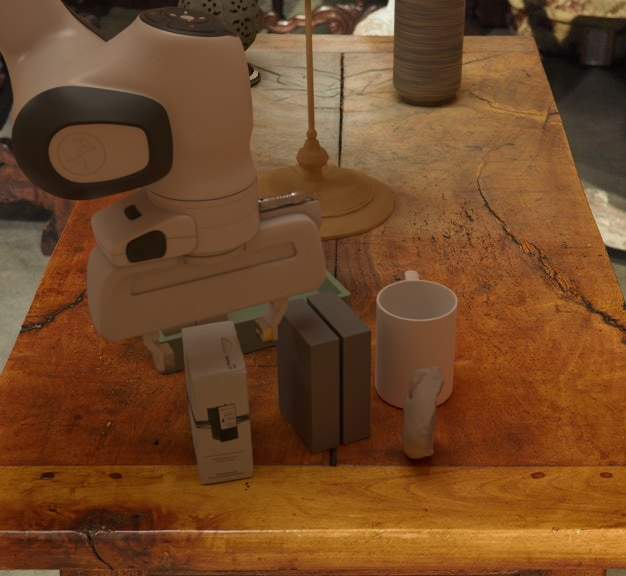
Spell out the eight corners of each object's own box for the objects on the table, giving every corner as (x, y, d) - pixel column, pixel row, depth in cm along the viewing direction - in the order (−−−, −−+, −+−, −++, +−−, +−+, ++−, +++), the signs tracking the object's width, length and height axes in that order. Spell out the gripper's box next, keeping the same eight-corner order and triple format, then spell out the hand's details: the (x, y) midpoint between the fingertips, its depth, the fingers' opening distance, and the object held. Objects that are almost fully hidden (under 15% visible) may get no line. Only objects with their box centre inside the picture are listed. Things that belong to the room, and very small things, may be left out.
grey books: (312, 454, 99) (310, 346, 93) (278, 408, 106) (274, 304, 100) (370, 436, 102) (371, 329, 96) (333, 392, 108) (333, 289, 102)
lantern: (174, 90, 184) (161, -59, 172) (190, 64, 196) (179, -77, 184) (255, 93, 184) (249, -57, 171) (266, 66, 196) (261, -75, 184)
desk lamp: (192, 246, 135) (165, -85, 115) (203, 171, 155) (182, -121, 135) (436, 240, 137) (451, -85, 117) (416, 167, 157) (426, -121, 137)
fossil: (431, 482, 96) (436, 391, 91) (393, 475, 97) (396, 385, 92) (443, 443, 101) (448, 354, 96) (407, 437, 102) (410, 349, 97)
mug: (457, 410, 106) (462, 319, 100) (377, 412, 105) (378, 321, 100) (444, 343, 116) (448, 258, 111) (371, 345, 116) (372, 259, 111)
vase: (409, 113, 177) (414, -28, 165) (381, 90, 186) (383, -45, 174) (472, 104, 181) (480, -34, 169) (441, 82, 190) (447, -50, 179)
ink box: (188, 429, 102) (179, 323, 96) (240, 421, 104) (234, 316, 98) (200, 487, 95) (190, 377, 89) (255, 478, 96) (249, 369, 90)
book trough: (163, 374, 110) (160, 342, 108) (128, 317, 120) (124, 286, 118) (351, 325, 119) (351, 294, 117) (304, 275, 129) (304, 246, 127)
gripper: (305, 172, 94) (310, 307, 101) (70, 220, 85) (93, 364, 92) (336, 199, 89) (339, 340, 96) (91, 254, 80) (113, 403, 87)
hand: (217, 352), depth 94 cm, fingers open, 8 cm apart
